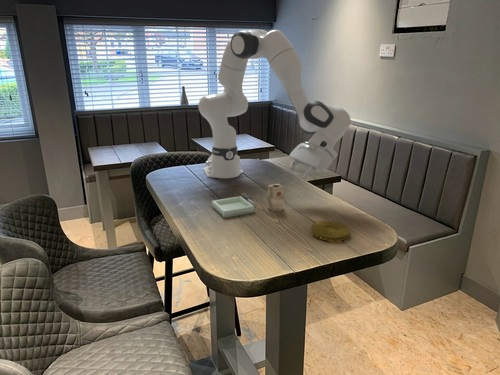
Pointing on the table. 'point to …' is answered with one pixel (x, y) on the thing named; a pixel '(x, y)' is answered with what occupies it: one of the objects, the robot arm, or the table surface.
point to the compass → (330, 231)
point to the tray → (232, 206)
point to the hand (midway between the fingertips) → (296, 173)
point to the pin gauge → (247, 198)
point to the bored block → (275, 197)
